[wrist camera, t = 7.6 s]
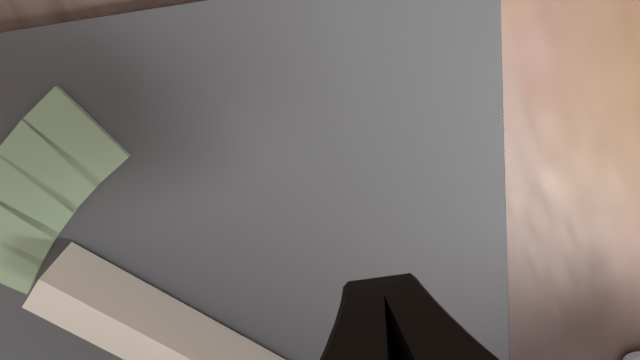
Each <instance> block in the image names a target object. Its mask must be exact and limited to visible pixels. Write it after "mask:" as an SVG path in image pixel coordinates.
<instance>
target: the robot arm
mask: <svg viewBox="0 0 640 360" xmlns="http://www.w3.org/2000/svg"><path fill="white" fill-rule="evenodd" d="M320 360H500V359H499V358H497V357H496V356H495V355H494V354H492V353H491V352H490V351H489V350H488V349H486V348H485V347H484V346H483V345H482V344H481V343H479V342H478V341H477V340H476V339H475V338H474V337H473V336H472V335H470V334H469V333H468V332H467V331H466V330H465V329H464V328H463V327H462V326H461V325H460V324H459V323H458V322H457V321H456V320H455V319H454V318H452V317H451V316H450V315H449V314H448V313H447V312H446V311H445V309H444V308H443V307H442V306H441V305H440V304H439V303H438V302H437V301H436V300H435V299H434V298H433V297H432V296H431V295H430V293H429V292H428V291H427V290H426V289H425V288H424V286H423V285H422V284H421V283H420V282H419V280H418V279H417V278H416V277H415V276H414V275H412V274H411V273H406V274H399V275H392V276H384V277H377V278H370V279H362V280H355V281H348V282H347V283H346V284H345V285H344V286H343V291H342V298H341V302H340V306H339V310H338V313H337V317H336V320H335V323H334V326H333V328H332V331H331V333H330V336H329V339H328V341H327V344H326V346H325V349H324V351H323V354H322V356H321V358H320ZM622 360H640V351H637V352H632V353H629V354H627V355H626V356H625V357H624V358H623V359H622Z"/></svg>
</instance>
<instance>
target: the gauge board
mask: <svg viewBox="0 0 640 360" xmlns="http://www.w3.org/2000/svg"><path fill="white" fill-rule="evenodd" d="M71 242H73V243H75V244H77V245H79V246H80V247H82V248H84V249H86V250H88V251H89V252H91V253H93V254H95V255H97V256H99V257H100V258H102V259H104V260H106V261H108V262H109V263H111V264H113V265H115V266H117V267H118V268H120V269H122V270H124V271H126V272H128V273H129V274H131V275H133V276H135V277H137V278H138V279H140V280H142V281H144V282H146V283H148V284H149V285H151V286H153V287H155V288H157V289H158V290H160V291H162V292H164V293H166V294H167V295H169V296H171V297H173V298H175V299H177V300H178V301H180V302H182V303H184V304H186V305H187V306H189V307H191V308H193V309H195V310H196V311H198V312H200V313H202V314H204V315H206V316H207V317H209V318H211V319H213V320H215V321H216V322H218V323H220V324H222V325H224V326H226V327H227V328H229V329H231V330H233V331H235V332H236V333H238V334H240V335H242V336H244V337H245V338H247V339H249V340H251V341H253V342H255V343H256V344H258V345H260V346H262V347H264V348H265V349H267V350H269V351H271V352H273V353H274V354H276V355H278V356H280V357H282V358H284V359H285V360H320V358H321V356H322V354H323V351H324V349H325V346H326V344H327V341H328V339H329V336H330V333H331V331H332V328H333V326H334V323H335V320H336V317H337V313H338V310H339V306H340V302H341V298H342V291H343V286H344V285H345V284H346V283H347V282H348V281H355V280H362V279H370V278H377V277H384V276H392V275H399V274H406V273H411V274H412V275H414V276H415V277H416V278H417V279H418V280H419V282H420V283H421V284H422V285H423V286H424V288H425V289H426V290H427V291H428V292H429V293H430V295H431V296H432V297H433V298H434V299H435V300H436V301H437V302H438V303H439V304H440V305H441V306H442V307H443V308H444V309H445V311H446V312H447V313H448V314H449V315H450V316H451V317H452V318H454V319H455V320H456V321H457V322H458V323H459V324H460V325H461V326H462V327H463V328H464V329H465V330H466V331H467V332H468V333H469V334H470V335H472V336H473V337H474V338H475V339H476V340H477V341H478V342H479V343H481V344H482V345H483V346H484V347H485V348H486V349H488V350H489V351H490V352H491V353H492V354H494V355H495V356H496V357H497V358H499V359H500V360H510V357H509V318H508V278H507V239H506V199H505V160H504V121H503V81H502V42H501V2H500V0H202V1H195V2H189V3H182V4H176V5H170V6H163V7H157V8H151V9H144V10H138V11H132V12H125V13H119V14H113V15H106V16H100V17H94V18H87V19H81V20H75V21H68V22H62V23H55V24H49V25H43V26H36V27H30V28H24V29H17V30H11V31H5V32H0V360H124V359H122V358H120V357H118V356H116V355H114V354H112V353H110V352H108V351H106V350H104V349H102V348H100V347H98V346H96V345H94V344H92V343H90V342H88V341H86V340H85V339H83V338H81V337H79V336H77V335H75V334H73V333H71V332H69V331H67V330H65V329H63V328H61V327H59V326H57V325H55V324H53V323H51V322H49V321H47V320H45V319H43V318H41V317H39V316H38V315H36V314H34V313H32V312H30V311H28V310H26V309H24V308H22V306H23V305H24V303H25V301H26V300H27V298H28V296H29V295H30V293H31V291H32V290H33V288H34V286H35V285H36V283H37V281H38V280H39V278H40V277H41V276H42V275H43V274H44V273H45V272H46V270H47V269H48V268H49V267H50V266H51V265H52V264H53V262H54V261H55V260H56V259H57V258H58V257H59V256H60V254H61V253H62V252H63V251H64V250H65V249H66V248H67V246H68V245H69V244H70V243H71Z"/></svg>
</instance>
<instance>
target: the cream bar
mask: <svg viewBox="0 0 640 360" xmlns="http://www.w3.org/2000/svg"><path fill="white" fill-rule="evenodd" d="M22 308H24V309H26V310H28V311H30V312H32V313H34V314H36V315H38V316H39V317H41V318H43V319H45V320H47V321H49V322H51V323H53V324H55V325H57V326H59V327H61V328H63V329H65V330H67V331H69V332H71V333H73V334H75V335H77V336H79V337H81V338H83V339H85V340H86V341H88V342H90V343H92V344H94V345H96V346H98V347H100V348H102V349H104V350H106V351H108V352H110V353H112V354H114V355H116V356H118V357H120V358H122V359H124V360H285V359H284V358H282V357H280V356H278V355H276V354H274V353H273V352H271V351H269V350H267V349H265V348H264V347H262V346H260V345H258V344H256V343H255V342H253V341H251V340H249V339H247V338H245V337H244V336H242V335H240V334H238V333H236V332H235V331H233V330H231V329H229V328H227V327H226V326H224V325H222V324H220V323H218V322H216V321H215V320H213V319H211V318H209V317H207V316H206V315H204V314H202V313H200V312H198V311H196V310H195V309H193V308H191V307H189V306H187V305H186V304H184V303H182V302H180V301H178V300H177V299H175V298H173V297H171V296H169V295H167V294H166V293H164V292H162V291H160V290H158V289H157V288H155V287H153V286H151V285H149V284H148V283H146V282H144V281H142V280H140V279H138V278H137V277H135V276H133V275H131V274H129V273H128V272H126V271H124V270H122V269H120V268H118V267H117V266H115V265H113V264H111V263H109V262H108V261H106V260H104V259H102V258H100V257H99V256H97V255H95V254H93V253H91V252H89V251H88V250H86V249H84V248H82V247H80V246H79V245H77V244H75V243H73V242H71V243H70V244H69V245H68V246H67V248H66V249H65V250H64V251H63V252H62V253H61V254H60V256H59V257H58V258H57V259H56V260H55V261H54V262H53V264H52V265H51V266H50V267H49V268H48V269H47V270H46V272H45V273H44V274H43V275H42V276H41V277H40V278H39V280H38V281H37V283H36V285H35V286H34V288H33V290H32V291H31V293H30V295H29V296H28V298H27V300H26V301H25V303H24V305H23V306H22Z"/></svg>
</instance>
